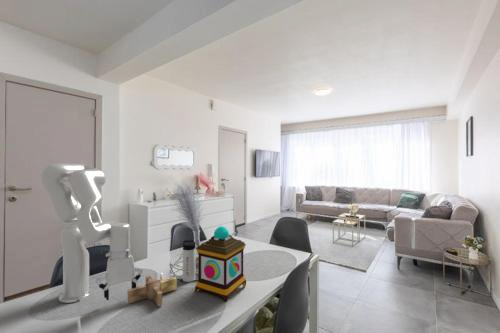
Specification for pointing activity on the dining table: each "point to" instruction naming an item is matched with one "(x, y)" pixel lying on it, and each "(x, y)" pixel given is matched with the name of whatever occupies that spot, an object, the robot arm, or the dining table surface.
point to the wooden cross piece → (152, 290)
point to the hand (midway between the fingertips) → (120, 294)
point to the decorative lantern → (220, 264)
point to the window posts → (162, 276)
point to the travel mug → (189, 261)
